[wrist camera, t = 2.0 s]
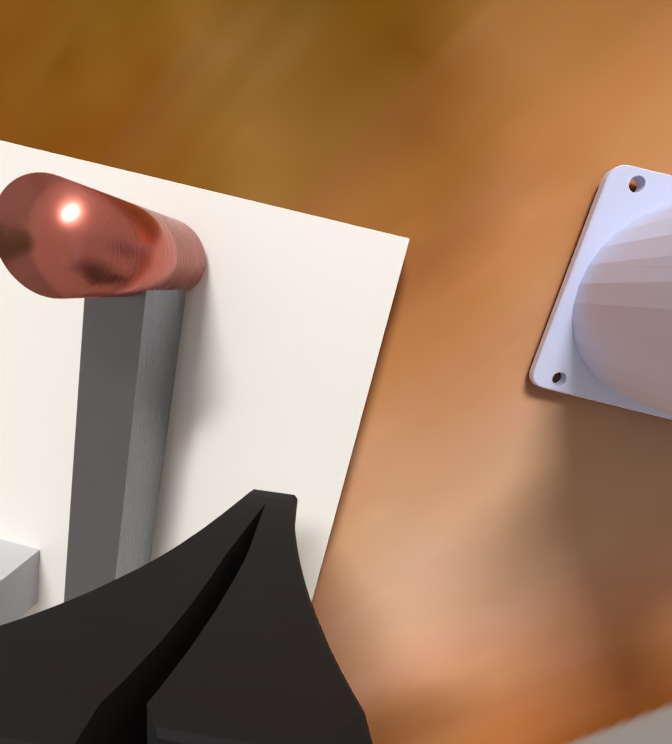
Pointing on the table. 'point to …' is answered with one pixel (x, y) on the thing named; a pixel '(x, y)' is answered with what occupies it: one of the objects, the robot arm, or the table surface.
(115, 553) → the lever
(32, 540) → the white flat block
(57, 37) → the table surface
